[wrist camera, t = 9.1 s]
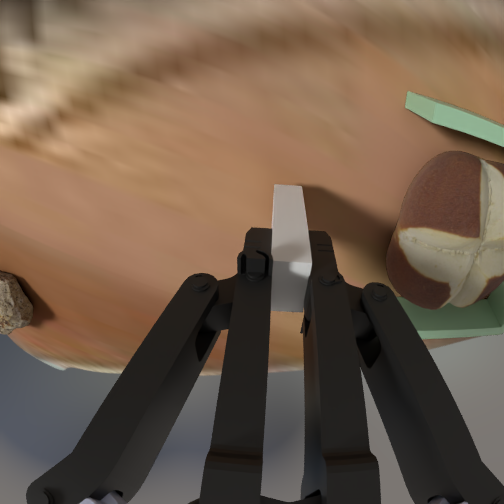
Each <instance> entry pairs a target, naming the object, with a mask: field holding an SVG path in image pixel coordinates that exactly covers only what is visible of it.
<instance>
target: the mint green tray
mask: <svg viewBox="0 0 504 504" xmlns="http://www.w3.org/2000/svg"><path fill="white" fill-rule="evenodd" d="M405 108H407V109H409V110H410V111H412V112H414V113H416V114H418V115H420V116H421V117H423V118H425V119H427V120H428V121H430V122H432V123H435V124H439V125H442V126H445V127H449V128H452V129H455V130H458V131H461V132H464V133H467V134H470V135H473V136H476V137H479V138H481V139H484V140H487V141H490V142H492V143H495V144H497V145H500V146H502V147H504V125H502V124H500V123H498V122H496V121H493V120H491V119H489V118H486V117H484V116H481V115H479V114H476V113H474V112H471V111H469V110H466V109H463V108H460V107H458V106H455V105H452V104H449V103H446V102H443V101H440V100H437V99H434V98H430V97H427V96H424V95H420V94H417V93H413V92H409V91H407V98H406V104H405ZM397 299H398V301H399V302H400V304H401V305H402V307H403V309H404V310H405V312H406V313H407V315H408V317H409V318H410V320H411V322H412V323H413V325H414V327H415V328H416V330H417V332H418V334H419V335H420V337H421V339H439V338H459V337H475V336H488V335H499V334H503V333H504V281H503V282H502V283H501V284H500V285H499V286H498V287H497V288H496V289H495V290H494V291H492V292H491V294H490V295H489V297H488V298H487V299H481V300H479V301H477V302H476V303H474V304H472V305H469V306H467V307H464V308H460V307H456V306H454V305H452V304H451V303H447V304H446V305H445V306H443V307H442V308H440V309H437V310H430V309H425V308H422V307H419V306H417V305H415V304H413V303H411V302H410V301H408V300H406V299H405V298H404V297H397Z"/></svg>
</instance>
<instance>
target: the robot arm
mask: <svg viewBox="0 0 504 504" xmlns="http://www.w3.org/2000/svg"><path fill="white" fill-rule="evenodd" d="M237 271H238V273H237V274H236V275H234V276H233V277H231V278H228V279H224V280H218V281H217V279H216V278H215V277H214V276H212V275H210V274H206V273H198V274H194V275H192V276H189V277H188V278H187V279H186V280H185V281H184V283H183V284H182V285H181V287H180V288H179V290H178V291H177V293H176V294H175V295H174V297H173V298H172V300H171V301H170V303H169V304H168V305H167V307H166V308H165V310H164V311H163V313H162V314H161V316H160V317H159V318H158V320H157V321H156V323H155V324H154V326H153V327H152V329H151V330H150V332H149V333H148V335H147V336H146V338H145V339H144V341H143V342H142V344H141V345H140V347H139V348H138V349H137V351H136V352H135V354H134V355H133V357H132V359H131V360H130V362H129V363H128V365H127V366H126V368H125V369H124V371H123V372H122V374H121V375H120V377H119V378H118V380H117V381H116V383H115V384H114V386H113V388H112V389H111V391H110V392H109V394H108V395H107V397H106V399H105V400H104V402H103V403H102V405H101V406H100V408H99V410H98V411H97V413H96V414H95V416H94V418H93V419H92V421H91V422H90V424H89V426H88V427H87V429H86V431H85V432H84V434H83V435H82V437H81V439H80V440H79V442H78V444H77V445H76V447H75V449H74V450H73V452H72V453H71V454H69V455H68V456H67V457H66V458H64V459H63V460H62V461H60V462H59V463H58V464H56V465H55V466H54V467H52V468H51V469H50V470H49V471H47V472H46V473H44V474H43V475H42V476H40V477H39V478H38V479H36V480H35V481H34V482H32V483H31V485H30V486H29V487H28V490H27V493H26V499H27V504H127V503H128V502H129V501H130V500H131V499H132V498H133V497H134V495H135V494H136V493H137V492H138V490H139V489H140V487H141V486H142V484H143V483H144V481H145V479H146V477H147V475H148V473H149V472H150V470H151V468H152V466H153V464H154V462H155V460H156V458H157V456H158V454H159V452H160V450H161V448H162V446H163V445H164V443H165V441H166V439H167V437H168V435H169V433H170V431H171V429H172V427H173V425H174V423H175V421H176V419H177V417H178V416H179V413H180V411H181V410H182V408H183V406H184V404H185V402H186V400H187V398H188V396H189V394H190V392H191V390H192V388H193V386H194V384H195V382H196V380H197V378H198V376H199V374H200V372H201V370H202V368H203V367H204V365H205V363H206V361H207V359H208V357H209V355H210V353H211V351H212V349H213V347H214V345H215V343H216V341H217V339H218V337H219V335H220V333H221V330H225V329H229V330H228V336H227V342H226V349H225V355H224V361H223V368H222V374H221V382H220V387H219V393H218V400H217V407H216V413H215V420H214V426H213V433H212V440H211V446H210V450H209V452H208V454H207V457H206V461H205V466H204V472H203V479H202V486H201V493H200V498H199V499H196V500H194V501H192V502H190V503H188V504H381V496H380V495H381V493H380V478H379V477H380V475H379V465H378V461H377V459H376V457H375V456H374V455H373V454H372V453H371V451H370V448H369V439H368V438H369V437H368V427H367V417H366V408H365V401H364V392H363V385H362V377H361V370H362V372H363V375H364V377H365V379H366V382H367V384H368V387H369V389H370V391H371V394H372V396H373V399H374V401H375V404H376V406H377V409H378V411H379V414H380V416H381V419H382V422H383V424H384V426H385V429H386V432H387V434H388V436H389V440H390V442H391V445H392V448H393V450H394V453H395V455H396V459H397V461H398V464H399V467H400V470H401V473H402V475H403V478H404V481H405V484H406V487H407V489H408V491H409V494H410V496H411V498H412V500H413V501H414V503H415V504H504V486H503V485H502V484H501V482H500V481H499V480H498V479H497V478H496V477H495V476H494V475H493V473H492V472H491V471H490V470H489V469H488V468H487V467H486V466H485V464H484V463H483V462H482V461H481V458H480V456H479V453H478V451H477V449H476V446H475V444H474V442H473V439H472V437H471V435H470V432H469V430H468V428H467V426H466V424H465V421H464V419H463V417H462V415H461V413H460V411H459V409H458V407H457V405H456V402H455V401H454V399H453V397H452V394H451V392H450V390H449V388H448V387H447V385H446V383H445V381H444V379H443V377H442V375H441V373H440V371H439V370H438V368H437V366H436V364H435V362H434V360H433V358H432V356H431V355H430V353H429V351H428V349H427V348H426V346H425V344H424V342H423V340H422V339H421V337H420V335H419V334H418V332H417V330H416V328H415V327H414V325H413V323H412V322H411V320H410V318H409V317H408V315H407V313H406V312H405V310H404V309H403V307H402V305H401V304H400V302H399V301H398V299H397V297H396V296H395V294H394V293H393V291H392V290H391V289H390V288H389V287H388V286H386V285H384V284H381V283H375V282H372V283H369V284H367V285H366V286H365V287H364V289H362V288H358V287H355V286H352V285H350V284H348V283H346V282H345V280H344V278H343V276H342V275H341V274H340V273H339V272H338V269H337V264H336V259H335V254H334V250H333V246H332V241H331V238H330V236H329V235H328V234H327V233H326V232H324V231H310V230H308V226H307V219H306V211H305V204H304V197H303V191H302V186H293V185H279V184H274V199H273V215H272V229H269V228H252V227H251V229H250V230H249V231H248V232H247V233H246V237H245V243H244V249H243V251H242V252H240V253H239V255H238V257H237ZM303 308H304V318H303V323H302V327H301V332H300V333H303V346H304V388H305V455H304V475H303V480H302V485H301V500H299V501H295V502H284V501H280V500H276V499H272V498H268V497H265V496H261V495H260V493H261V480H262V464H263V440H264V425H265V409H266V392H267V374H268V355H269V335H270V313H271V311H286V312H303ZM360 367H361V370H360Z"/></svg>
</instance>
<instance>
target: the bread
mask: <svg viewBox="0 0 504 504" xmlns="http://www.w3.org/2000/svg"><path fill="white" fill-rule="evenodd" d="M386 267H387V273H388V276H389V279H390V281H391V283H392V285H393V287H394V288H395V289H396V291H397V292H398V293H399V294H400V295H401V296H402V297H404V298H405V299H406V300H408V301H410V302H411V303H413V304H415V305H417V306H419V307H422V308H425V309H430V310H437V309H440V308H442V307H443V306H445V305H446V304H447V303H451V304H452V305H454V306H456V307H460V308H464V307H467V306H469V305H472V304H474V303H476V302H477V301H479V300H481V299H483V298H484V297H486V296H487V295H488V294H490V293H491V292H492V291H494V290H495V289H496V288H497V287H498V286H499V285H500V284H501V283H502V282H503V281H504V164H502V163H498V162H493V161H488V160H484V159H481V158H479V157H477V156H474V155H472V154H469V153H466V152H462V151H448V152H444V153H442V154H439V155H437V156H436V157H434V158H433V159H431V160H430V161H429V162H428V163H427V164H426V165H425V166H424V167H423V168H422V169H421V170H420V171H419V173H418V174H417V175H416V177H415V178H414V180H413V181H412V183H411V185H410V187H409V189H408V191H407V193H406V195H405V197H404V200H403V204H402V207H401V211H400V215H399V219H398V222H397V225H396V229H395V231H394V233H393V234H392V239H391V241H390V244H389V247H388V250H387V255H386Z"/></svg>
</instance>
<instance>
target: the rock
mask: <svg viewBox="0 0 504 504" xmlns="http://www.w3.org/2000/svg"><path fill="white" fill-rule="evenodd" d="M32 316H33V306H32V304H31V302H30V301H29V300H28V298H27V297H26V296H25V295H24V293H23V291H22V289H21V287H20V286H19V284H18V282H17V278H15V277H14V276H13V275H12V274H8V273H4V272H1V271H0V333H1V334H10V333H11V332H12V331H13V330H14V329H16V328H22V327H25V326H28V324H30V321H31V319H32Z"/></svg>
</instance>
